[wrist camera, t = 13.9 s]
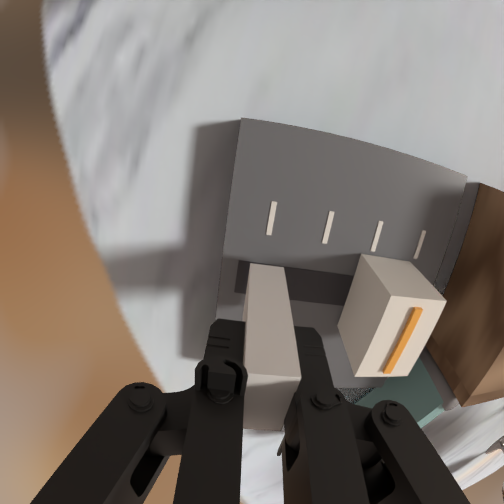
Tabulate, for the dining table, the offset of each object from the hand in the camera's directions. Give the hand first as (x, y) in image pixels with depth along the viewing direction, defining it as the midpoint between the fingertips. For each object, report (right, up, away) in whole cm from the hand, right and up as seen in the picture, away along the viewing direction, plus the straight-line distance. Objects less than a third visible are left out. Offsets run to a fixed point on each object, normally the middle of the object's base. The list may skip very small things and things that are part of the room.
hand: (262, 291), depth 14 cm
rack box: (+19, 0, +3) cm, 19 cm away
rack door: (+9, -9, +7) cm, 15 cm away
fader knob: (+6, 0, +1) cm, 6 cm away
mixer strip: (+4, +1, +3) cm, 5 cm away
